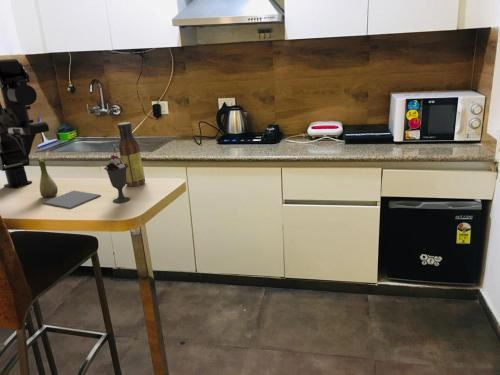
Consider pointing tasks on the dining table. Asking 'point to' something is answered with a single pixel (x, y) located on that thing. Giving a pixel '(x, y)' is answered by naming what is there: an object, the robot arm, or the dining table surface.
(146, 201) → the dining table surface
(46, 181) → the fennel bulb
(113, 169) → the sundae
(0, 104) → the robot arm
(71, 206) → the mat
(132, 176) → the sauce bottle
